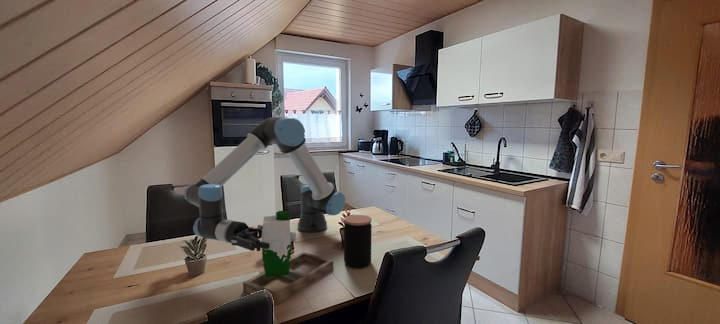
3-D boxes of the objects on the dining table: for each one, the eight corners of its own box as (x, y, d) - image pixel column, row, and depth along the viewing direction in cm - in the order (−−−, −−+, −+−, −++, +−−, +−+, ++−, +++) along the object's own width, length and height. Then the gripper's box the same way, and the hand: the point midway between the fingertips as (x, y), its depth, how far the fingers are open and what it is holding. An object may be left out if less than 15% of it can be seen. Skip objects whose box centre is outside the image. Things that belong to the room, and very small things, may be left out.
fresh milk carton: (291, 275, 97) (290, 215, 95) (262, 279, 95) (260, 217, 92) (290, 263, 106) (289, 208, 103) (263, 266, 103) (261, 209, 101)
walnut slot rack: (303, 258, 122) (303, 251, 122) (333, 268, 114) (333, 260, 114) (243, 291, 98) (243, 282, 98) (275, 305, 90) (275, 296, 90)
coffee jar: (375, 260, 121) (376, 217, 119) (362, 271, 112) (363, 225, 110) (353, 255, 126) (353, 213, 124) (338, 265, 117) (338, 220, 115)
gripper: (254, 232, 115) (305, 241, 107) (208, 253, 96) (266, 267, 88) (253, 213, 114) (305, 221, 106) (207, 231, 95) (265, 242, 87)
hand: (287, 241), depth 97 cm, fingers closed on fresh milk carton, 8 cm apart
